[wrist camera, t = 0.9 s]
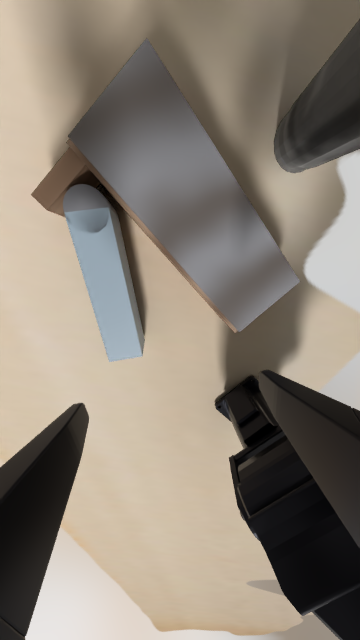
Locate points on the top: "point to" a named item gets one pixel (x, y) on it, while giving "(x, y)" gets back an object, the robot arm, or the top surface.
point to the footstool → (173, 190)
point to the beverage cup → (324, 113)
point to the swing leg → (105, 270)
